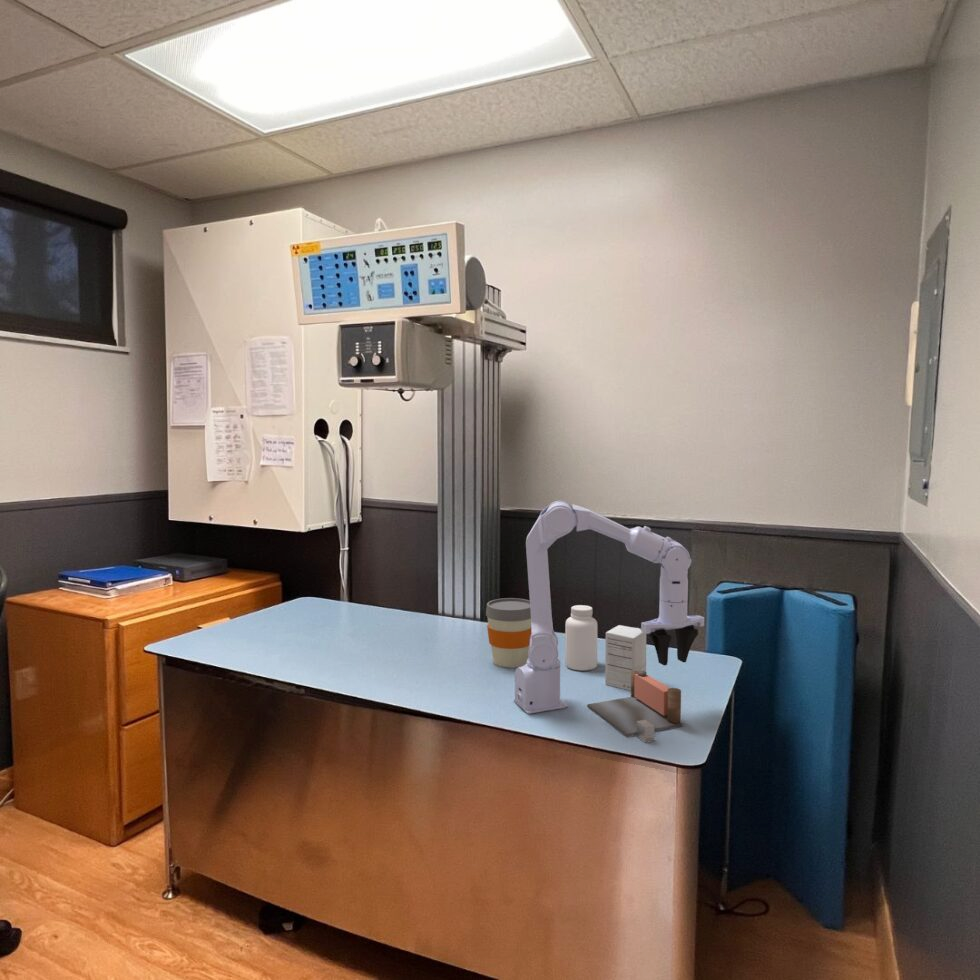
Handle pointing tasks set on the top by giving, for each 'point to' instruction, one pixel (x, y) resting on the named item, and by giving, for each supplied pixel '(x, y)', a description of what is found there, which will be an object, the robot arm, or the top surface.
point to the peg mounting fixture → (639, 712)
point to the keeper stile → (645, 731)
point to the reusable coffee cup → (509, 631)
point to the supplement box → (624, 655)
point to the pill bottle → (581, 639)
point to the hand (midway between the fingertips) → (672, 662)
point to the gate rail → (651, 692)
